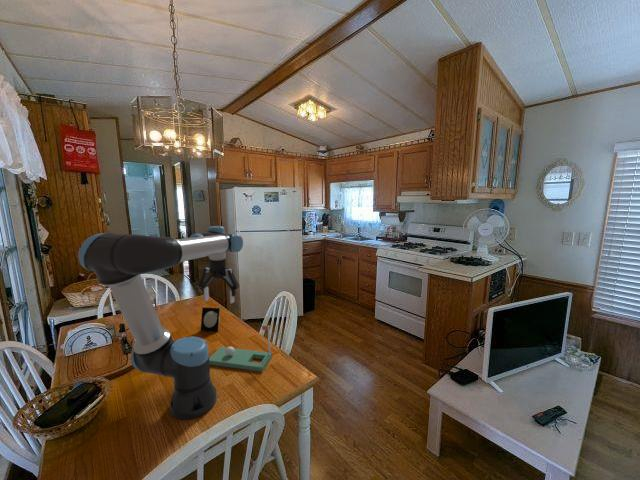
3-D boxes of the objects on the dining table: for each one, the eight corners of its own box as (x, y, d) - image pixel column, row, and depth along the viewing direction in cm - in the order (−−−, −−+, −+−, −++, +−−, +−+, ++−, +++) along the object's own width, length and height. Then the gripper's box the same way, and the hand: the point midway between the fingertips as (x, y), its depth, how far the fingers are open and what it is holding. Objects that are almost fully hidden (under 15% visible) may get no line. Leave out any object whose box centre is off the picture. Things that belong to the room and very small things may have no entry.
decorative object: (207, 328, 158) (223, 329, 157) (197, 332, 147) (215, 333, 146) (209, 305, 159) (225, 306, 158) (199, 308, 149) (217, 308, 148)
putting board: (262, 371, 116) (261, 336, 113) (207, 364, 121) (205, 330, 118) (272, 356, 126) (271, 324, 124) (221, 350, 131) (219, 319, 129)
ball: (232, 358, 122) (231, 350, 121) (223, 357, 123) (223, 349, 122) (236, 353, 126) (236, 345, 125) (228, 352, 127) (228, 344, 126)
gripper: (245, 258, 131) (246, 300, 134) (198, 256, 135) (201, 297, 138) (238, 261, 123) (239, 306, 126) (188, 259, 128) (191, 302, 131)
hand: (219, 301), depth 132 cm, fingers open, 13 cm apart
